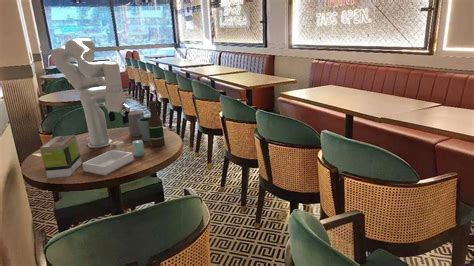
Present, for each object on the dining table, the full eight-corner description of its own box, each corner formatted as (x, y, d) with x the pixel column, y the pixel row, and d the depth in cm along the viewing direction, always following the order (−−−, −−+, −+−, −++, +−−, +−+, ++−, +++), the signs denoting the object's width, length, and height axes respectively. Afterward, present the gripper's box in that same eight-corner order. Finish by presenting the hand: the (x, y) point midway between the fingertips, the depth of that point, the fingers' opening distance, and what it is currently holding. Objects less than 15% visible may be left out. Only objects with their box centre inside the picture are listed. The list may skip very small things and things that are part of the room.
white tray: (83, 171, 149) (82, 163, 148) (112, 157, 164) (111, 149, 163) (106, 175, 144) (104, 166, 142) (133, 160, 159) (132, 152, 158)
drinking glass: (162, 137, 191) (160, 117, 187) (149, 143, 183) (147, 122, 179) (150, 135, 196) (147, 115, 193) (137, 140, 188) (134, 120, 185)
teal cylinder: (132, 155, 165) (130, 142, 163) (138, 152, 169) (136, 139, 167) (140, 157, 163) (138, 143, 161) (146, 153, 167) (144, 140, 165)
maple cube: (111, 153, 171) (109, 143, 169) (118, 149, 175) (116, 140, 174) (118, 154, 169) (116, 144, 167) (125, 150, 173) (124, 141, 172)
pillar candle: (133, 131, 205) (129, 108, 201) (148, 131, 205) (145, 107, 200) (127, 136, 196) (123, 112, 191) (143, 136, 196) (140, 111, 191)
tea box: (61, 165, 158) (54, 135, 154) (82, 163, 159) (76, 134, 154) (46, 178, 144) (38, 146, 139) (70, 176, 144) (63, 145, 140)
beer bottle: (161, 147, 175) (156, 103, 167) (148, 147, 176) (142, 103, 169) (167, 142, 182) (162, 99, 175) (154, 142, 183) (148, 100, 176)
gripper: (96, 88, 162) (101, 121, 168) (120, 91, 154) (125, 126, 159) (108, 85, 168) (113, 118, 174) (132, 88, 160) (137, 122, 165)
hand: (119, 122), depth 167 cm, fingers open, 9 cm apart
